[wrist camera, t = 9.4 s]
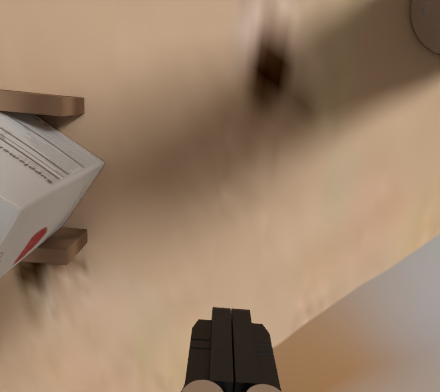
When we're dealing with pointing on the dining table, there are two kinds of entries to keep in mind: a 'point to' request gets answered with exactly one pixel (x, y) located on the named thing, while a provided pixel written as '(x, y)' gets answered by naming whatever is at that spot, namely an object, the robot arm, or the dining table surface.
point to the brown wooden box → (56, 106)
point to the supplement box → (37, 183)
